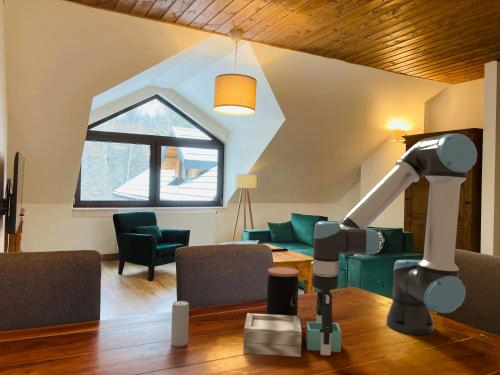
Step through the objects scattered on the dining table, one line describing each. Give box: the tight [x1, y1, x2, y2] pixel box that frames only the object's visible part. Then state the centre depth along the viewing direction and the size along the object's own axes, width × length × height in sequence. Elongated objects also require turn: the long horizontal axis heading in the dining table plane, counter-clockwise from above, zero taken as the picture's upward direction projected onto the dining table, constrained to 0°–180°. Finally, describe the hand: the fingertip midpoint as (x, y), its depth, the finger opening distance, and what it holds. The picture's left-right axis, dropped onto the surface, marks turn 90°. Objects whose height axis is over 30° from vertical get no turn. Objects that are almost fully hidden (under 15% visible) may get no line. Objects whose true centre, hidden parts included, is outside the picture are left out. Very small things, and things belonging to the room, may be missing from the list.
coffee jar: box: [265, 266, 300, 316], centre depth 140 cm, size 11×11×18 cm
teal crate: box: [305, 321, 342, 353], centre depth 121 cm, size 10×7×6 cm
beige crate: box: [242, 312, 303, 358], centre depth 120 cm, size 16×13×7 cm
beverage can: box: [170, 300, 190, 348], centre depth 119 cm, size 5×5×12 cm
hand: (322, 345), depth 121 cm, fingers open, 13 cm apart
